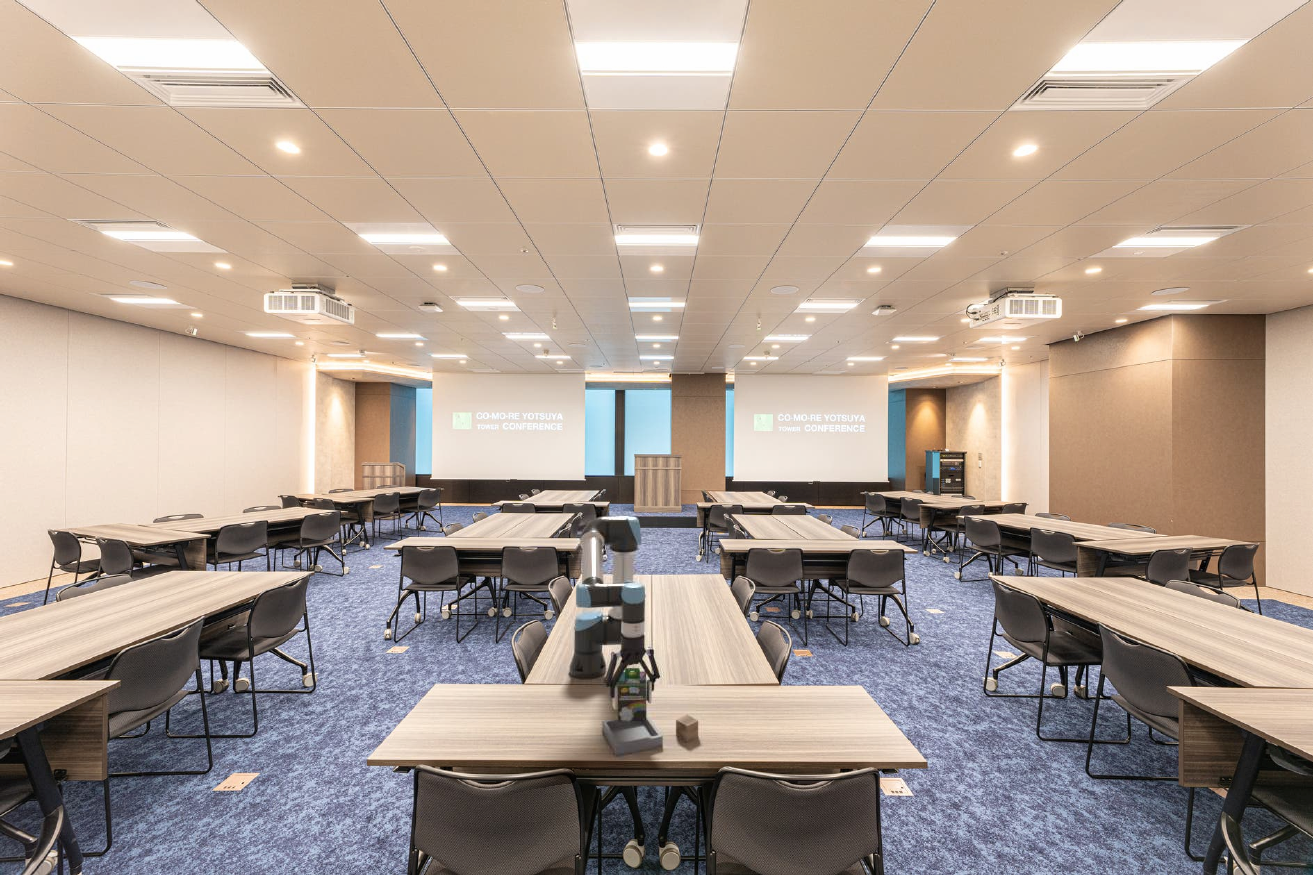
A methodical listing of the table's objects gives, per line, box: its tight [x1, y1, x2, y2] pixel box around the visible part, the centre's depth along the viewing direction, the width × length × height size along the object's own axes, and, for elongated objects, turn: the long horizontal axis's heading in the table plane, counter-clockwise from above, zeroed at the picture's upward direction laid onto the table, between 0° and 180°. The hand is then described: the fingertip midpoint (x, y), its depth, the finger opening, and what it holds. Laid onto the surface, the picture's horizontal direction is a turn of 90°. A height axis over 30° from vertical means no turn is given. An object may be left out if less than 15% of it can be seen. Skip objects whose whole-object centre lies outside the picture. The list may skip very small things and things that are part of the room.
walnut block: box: [675, 714, 699, 743], centre depth 158 cm, size 5×5×5 cm
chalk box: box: [616, 667, 648, 721], centre depth 156 cm, size 9×9×15 cm
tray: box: [601, 713, 664, 757], centre depth 156 cm, size 15×15×3 cm
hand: (632, 704), depth 156 cm, fingers closed on chalk box, 11 cm apart
